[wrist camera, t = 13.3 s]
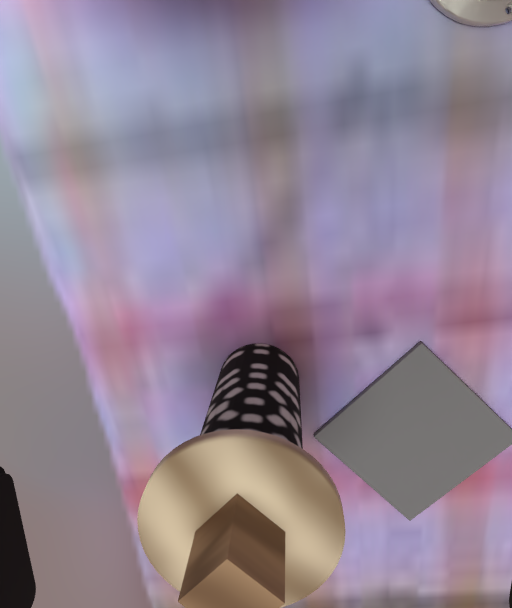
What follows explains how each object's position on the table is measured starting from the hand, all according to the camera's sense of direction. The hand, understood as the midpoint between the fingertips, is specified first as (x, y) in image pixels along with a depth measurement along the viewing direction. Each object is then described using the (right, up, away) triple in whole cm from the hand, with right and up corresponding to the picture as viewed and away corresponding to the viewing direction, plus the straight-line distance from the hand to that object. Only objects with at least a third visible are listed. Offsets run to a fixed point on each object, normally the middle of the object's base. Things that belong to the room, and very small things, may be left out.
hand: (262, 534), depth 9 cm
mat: (+17, -10, +42) cm, 46 cm away
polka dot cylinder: (0, -4, +41) cm, 42 cm away
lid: (-1, -10, +22) cm, 24 cm away
